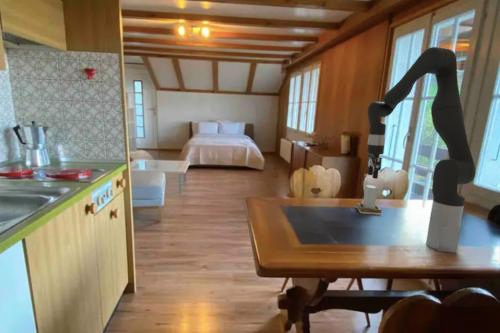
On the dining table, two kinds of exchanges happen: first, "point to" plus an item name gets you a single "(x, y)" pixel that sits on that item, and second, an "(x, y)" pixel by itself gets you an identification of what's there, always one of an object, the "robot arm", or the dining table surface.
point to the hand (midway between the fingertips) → (372, 176)
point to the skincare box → (370, 197)
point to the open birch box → (368, 211)
